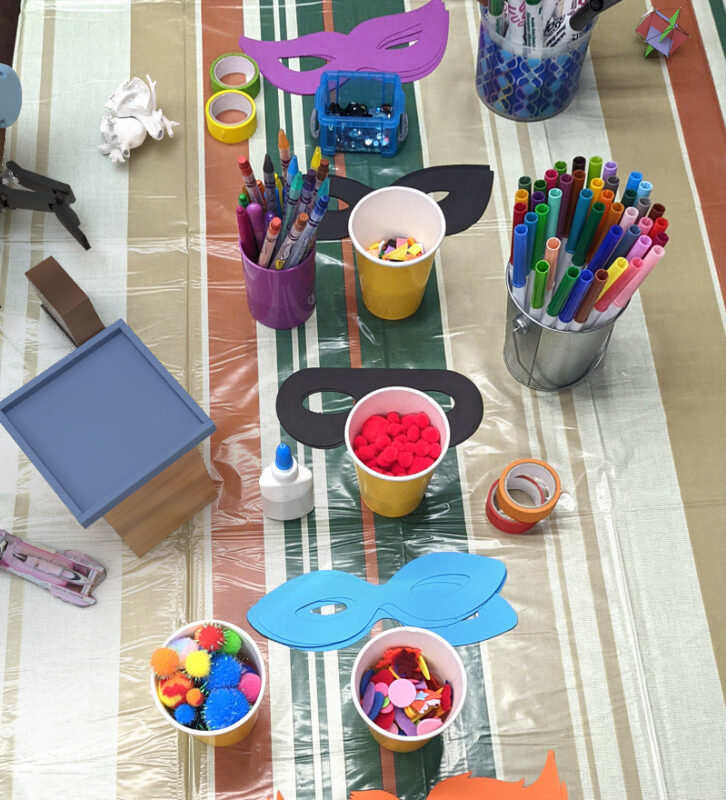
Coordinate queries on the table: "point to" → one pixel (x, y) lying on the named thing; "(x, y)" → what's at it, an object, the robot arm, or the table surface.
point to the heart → (132, 119)
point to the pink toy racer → (52, 568)
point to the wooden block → (163, 503)
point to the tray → (103, 422)
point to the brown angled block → (64, 302)
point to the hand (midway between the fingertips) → (41, 273)
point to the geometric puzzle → (661, 32)
